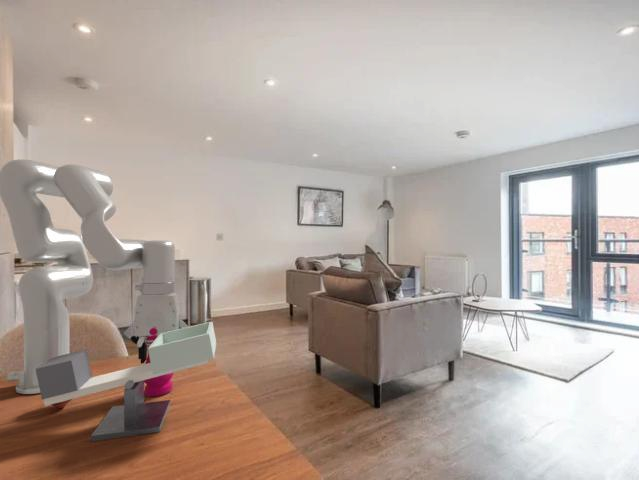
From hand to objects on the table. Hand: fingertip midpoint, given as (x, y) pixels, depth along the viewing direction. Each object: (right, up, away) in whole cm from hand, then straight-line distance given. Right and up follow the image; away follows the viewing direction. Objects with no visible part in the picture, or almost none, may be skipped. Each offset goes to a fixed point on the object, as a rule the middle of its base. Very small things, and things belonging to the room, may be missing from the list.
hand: (157, 359), depth 85 cm
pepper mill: (0, -8, 0) cm, 8 cm away
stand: (+2, -8, -14) cm, 16 cm away
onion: (-18, -8, -8) cm, 22 cm away
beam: (+3, +1, -14) cm, 14 cm away
